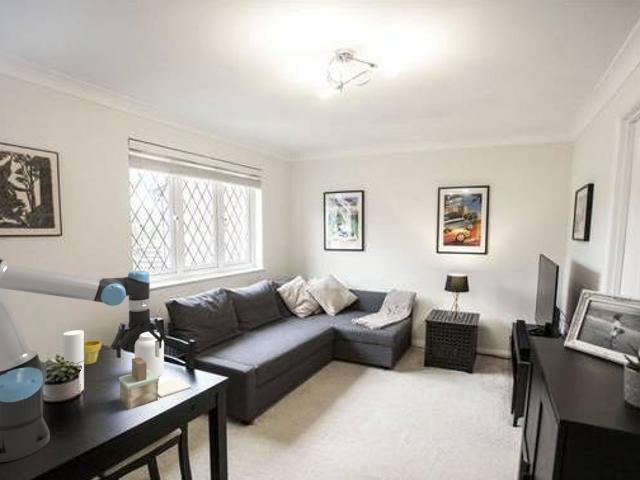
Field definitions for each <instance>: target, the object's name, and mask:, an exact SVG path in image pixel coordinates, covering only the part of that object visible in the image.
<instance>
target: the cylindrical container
mask: <svg viewBox="0 0 640 480" xmlns="http://www.w3.org/2000/svg"><path fill="white" fill-rule="evenodd" d="M84 332H85V330H81V329H79V330H77V329H76V330H70V331H65V332H64V333H63V335H62V338H63V339H62V340H63V341H62V344H63V345H62V347H63V350H62V353H63V356H62V357H63V358H64V360H66V361H69V362H74V363H77V364H79V365H81V366H82V369H81V371H80V384H81V391H80V392H79V393H81V392H82V391H84V389H85V370H84V369H85V367H84V366H85V364H84V342H85V339H84V338H85V334H84Z"/></svg>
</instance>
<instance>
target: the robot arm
mask: <svg viewBox="0 0 640 480" xmlns="http://www.w3.org/2000/svg"><path fill="white" fill-rule="evenodd" d="M150 283H151V282H150V273H149V272H148V271H146V270H132V271H130V272H128V275H127V276H126V277H125V276H124V277H123V276H122V277H110V278H109V277H108V278H107V277H105V278H97V279H96V278H95V279H94V278H90V277H83V276H77V275H72V274H67V273H62V272H55V271H49V270H44V269H38V268H32V267H26V266H22V265H21V266H20V265H15V264H11V263H10V264H9V263H8V262H7V261H6V260H5V259H2V258H1V257H0V463H5V462H6V463H7V462H13V461H17V460H19V459H22V458H25V457H28V456H30V455H32V454H34V453H36V452H38V451H40V450H42V448H44V447H45V446H47V444H48V443H49V441H50V429H49V427H48V425H47V423H46V421H45V419H44V417H43V416H44V413H43V411H44V409H43V405H44V404H43V398H44V397H43V396H44V395H43V394H44V388H45V382H46V380H47V376H48V369H47V367H46V364H45V363H44V362H43V361H41V359H40V356H39V355H38V352H37V351H34V350H31V349H30V347H29V346H28V343H27V341H26V338H25V336H24V334H23V331H22V329H21V327H20V324H19V321H18V318H17V317H16V315H15V314H16V313H15V312H14V309H13V308H12V305H11V302H10V300H9V298H8V295H7V293H6V291H5V290H11V291H16V292H24V293H32V294H33V293H34V294H40V295H46V296H47V295H48V296H53V297H59V298H60V297H61V298H69V299H75V300H76V299H77V300H81V301H83V300H84V301H89V302H90V301H92V302H97V303H103V304H105V305H107V306H111V307H113V306H119V305H120V304H122V303H123V302H124V301H125V300H126V297H128V310H129V311H128V323H120V324H119V329H118V331H117V333H116V335H115V337H114V339H113V341H112V343H111V345H110V349H112V350H113V351H116V355H115V357H116V358H117V359H118V362H119V366H120V367H121V368H122V367H124V349H123V347H124V346H125V344H127V342H128V341H129V339H130V338H131V337H132V336H133V335H135V334H139V333H145V332H149V333H150V334H151V335H153V336H154V337H155V338H156V339H157V340H156V341H155V356H156V357H157V358H158V357H159V349H160V348H161V347H162V343H161V342H162V341H164V340H165V339H167V336H166V334H165V333H164V330H163V328H162V327H161V325H160V324H159V319H158V318H157V317H153V318H151V319H150V317H151V316H150V315H151V314H150V313H151V312H150V311H151V310H150V306H151V305H150V304H151V303H150V299H151V298H150ZM151 324H153V325H154V328H155V329H156V331H154V330H153V329H152V328H150V325H151ZM127 328H129V329H128V330H127ZM125 330H127V332H126V333H125ZM155 332H158V333H159V335H160V337H159V336H158V335H157V334H156V333H155ZM124 333H125V335H124ZM123 335H124V336H123Z"/></svg>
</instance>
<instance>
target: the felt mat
mask: <svg viewBox="0 0 640 480" xmlns="http://www.w3.org/2000/svg"><path fill="white" fill-rule="evenodd" d="M190 389H192V385H191V384H189V383H187V382H186V381H185V380H183V379H182V378H181V377H180V376H178V377H175V378H171V379H168V380H164V381H161V382H158V398H160V399H161V398H166V397H168V396H172V395H175V394H178V393H181V392H185V391H187V390H190Z"/></svg>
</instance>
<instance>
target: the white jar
mask: <svg viewBox="0 0 640 480" xmlns="http://www.w3.org/2000/svg"><path fill="white" fill-rule="evenodd" d="M154 332H155V333H156V334H157V335H158V336H159V337H160V334H159V332H158V331H154ZM156 340H157V339H156V338H155V337H154V336H153V335H151V334H150V333H149V332H148V331H145V332H141V333H140V334H139V337H138V338H137V340H136V341H135V344H134V358H138V357H140V358H142V359H143V360H144V361H145V362H146V370H150V371H151V372H153V373H154V374H155V375H156V376H157V377H159V378H160V377H161V376H163V374H164V372H165V370H164V369H165V367H164V366H165V359H164V358H165V342H164V340H163V341H162V342H161V343H162V347H161V348H160V349H159V357H158V358H157V357H156V356H155V341H156Z"/></svg>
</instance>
